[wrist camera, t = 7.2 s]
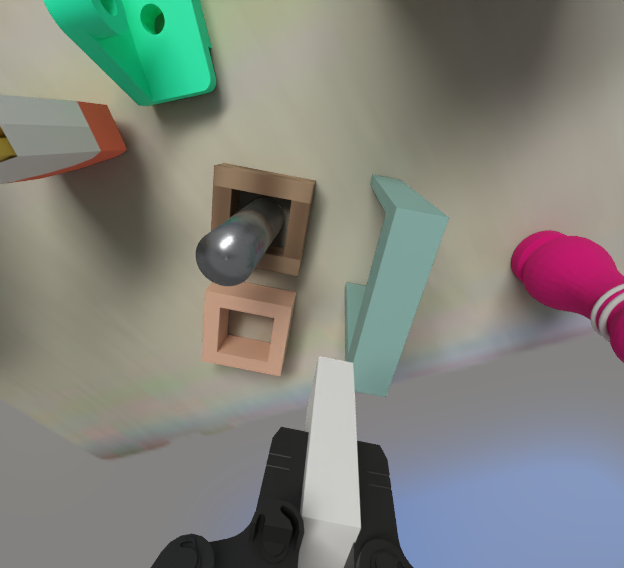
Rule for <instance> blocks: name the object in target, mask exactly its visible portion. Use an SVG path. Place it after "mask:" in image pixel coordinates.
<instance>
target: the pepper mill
mask: <svg viewBox="0 0 624 568" xmlns="http://www.w3.org/2000/svg"><path fill="white" fill-rule="evenodd" d="M511 267H512V271H513V273H514V275H515V276H516V277H517V278H518V279H519V280H520V281H522V282H523V283H524V285H525V288H526V290H527V291H528V293H529V294H530V295H531V296H532V297H533V298H534V299H536V300H537V301H539V302H540V303H542V304H544V305H546V306H548V307H551V308H554V309H557V310H562V311H569V312H574V313H578V314H581V315H584V316H585V317H587V318H588V319H590V320H591V325H592V327H593V328H594V330H595V331H596V332H597V333H598V334H599V335H601V336H603V337H604V338H605V339H606V340H607V341H609V342H610V344H611V346H612V349H613V351H614V352H615V354H616V355H617V357H618V358H619V359H620V360H621V361H622V362H624V276H623V275H622V274H621V273H620V272H619V271H618V270H617V268H616V265H615V263H614V261H613V259H612V258H611V256H610V255H609V254H608V253H607V251H606V250H605V249H604V248H603V247H601V246H600V245H598V244H596V243H595V242H593V241H591V240H589V239H586V238H583V237H578V236H566V235H564V234H562V233H560V232H556V231H541V232H538V233H535V234H532V235H531V236H529V237H527V238H526V239H524V240H523V241H522V242H521V243H520V244H519V245H518V246H517V248H516V249H515V251H514V253H513V256H512V260H511Z"/></svg>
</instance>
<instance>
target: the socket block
mask: <svg viewBox="0 0 624 568" xmlns="http://www.w3.org/2000/svg"><path fill="white" fill-rule="evenodd" d="M315 182H316V181H314V180H309V179H303V178H298V177H293V176H288V175H283V174H278V173H272V172H267V171H262V170H257V169H252V168H246V167H241V166H236V165H231V164H226V163H223V164H218V165H214V179H213V201H212V222H211V231H212V230H214V229H215V228H216V227H218V226H219V225H221V224H222V223H223V222H225V221H226V220H227V219H229V218H230V217H232V216H233V215H234V214H236V213H237V212H238V203H239V191H240V190H241V191H247V192H252V193H257V194H262V195H267V196H272V197H278V198H283V199H288V200H292V201H291V208H290V215H289V222H288V229H287V236H286V242H285V248H282V247H277V246H272V245H270V246H269V247H268V249H267V250H266V252H265V253H264V255H263V256H262V258H261V259H260V261H259V262H258V264H257V265H256V267H255V268H259V269H264V270H269V271H274V272H279V273H284V274H289V275H294V276H298V274H299V271H300V268H301V263H302V257H303V252H304V246H305V240H306V234H307V228H308V223H309V217H310V211H311V205H312V199H313V194H314V188H315Z"/></svg>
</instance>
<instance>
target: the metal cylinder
mask: <svg viewBox="0 0 624 568" xmlns="http://www.w3.org/2000/svg"><path fill="white" fill-rule="evenodd" d="M283 222H284V215H283V211H282V209H281V208H280V206H279V205H278V204H277V203H276V202H275V201H273V200H271V199H268V198H258V199H256V200H254V201H252V202H251V203H249V204H248V205H247V206H245V207H244V208H243V209H241V210H240V211H238V212H237V213H236V214H234V215H233V216H232V217H230V218H229V219H227V220H226V221H225V222H223V223H222V224H221V225H219V226H218V227H216V228H215V229H214V230H212V231H211V232H210V233H208V234H207V235H205V236H204V237H203V238H202V239H201V240H200V242H199V243H198V246H197V249H196V261H197V265H198V267H199V269H200V271H201V272H202V273H203V275H204V276H205V277H206V278H208V279H209V280H210V281H212V282H214V283H215V284H218V285H222V286H235V285H238V284H241V283H242V282H244V281H245V280H246V279H247V278H248V277H249V276H250V274H251V273H252V271H253V270H254V268H255V267H256V265H257V264H258V262H259V261H260V259H261V258H262V256H263V255H264V253H265V252H266V250H267V249H268V247H269V246H270V244H271V243H272V241H273V240H274V238H275V237H276V235H277V234H278V232H279V231H280V229H281V228H282V226H283Z"/></svg>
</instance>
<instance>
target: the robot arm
mask: <svg viewBox="0 0 624 568" xmlns="http://www.w3.org/2000/svg"><path fill="white" fill-rule="evenodd" d="M151 568H413V567H412V566H411V564H409V562H408V560H407V559H406V557H405V556H404V554H403V552H402V549H401V547H400V544H399V539H398V533H397V527H396V518H395V511H394V504H393V497H392V491H391V483H390V478H389V468H388V461H387V458H386V456H385V454H384V452H383V450H382V449H381V447H380V445H376V444H371V443H366V442H361V441H357V434H356V413H355V391H354V369H353V363H351V362H346V361H341V360H336V359H330V358H325V357H320V356H319V358H318V362H317V367H316V371H315V376H314V380H313V384H312V389H311V393H310V398H309V402H308V409H307V418H306V425H305V431H300V430H295V429H290V428H284V427H281V428H280V429H279V430H278V432H277V433H276V434H275V435H274V437H273V438H272V443H271V447H270V451H269V456H268V460H267V465H266V469H265V473H264V478H263V482H262V486H261V491H260V495H259V499H258V504H257V508H256V512H255V514H254V516H253V518H252V521H251V523H250V524H249V526H248V527H247V528H246V529H245V530H244V531H243V532H241V533H240V534H238V535H236V536H234V537H231V538H228V539H223V540H219V541H213V542H208V541H207V540H206V539H205V538H203V537H202V536H199V535H195V534H188V535H183V536H180V537H178V538H176V539H175V540H173V541H171V542H170V543H169V544H168V545H167V546H166V547H165V549H164V550H163V551H162V552H161V553H160V555H159V556H158V558H157V559H156V561H155V562H154V564H153V565H152V567H151Z"/></svg>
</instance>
